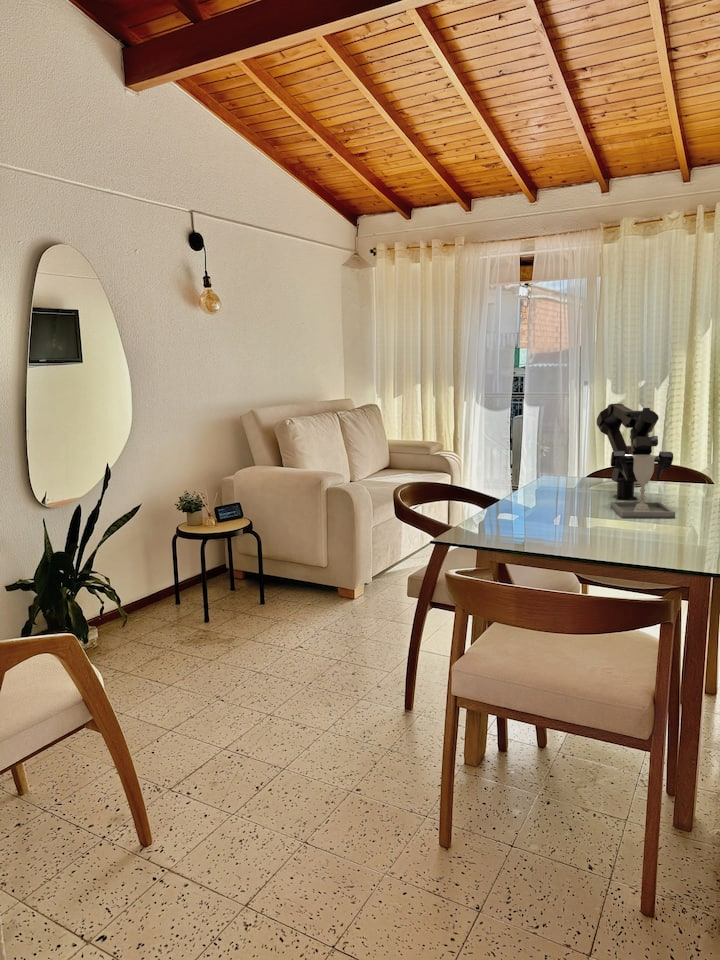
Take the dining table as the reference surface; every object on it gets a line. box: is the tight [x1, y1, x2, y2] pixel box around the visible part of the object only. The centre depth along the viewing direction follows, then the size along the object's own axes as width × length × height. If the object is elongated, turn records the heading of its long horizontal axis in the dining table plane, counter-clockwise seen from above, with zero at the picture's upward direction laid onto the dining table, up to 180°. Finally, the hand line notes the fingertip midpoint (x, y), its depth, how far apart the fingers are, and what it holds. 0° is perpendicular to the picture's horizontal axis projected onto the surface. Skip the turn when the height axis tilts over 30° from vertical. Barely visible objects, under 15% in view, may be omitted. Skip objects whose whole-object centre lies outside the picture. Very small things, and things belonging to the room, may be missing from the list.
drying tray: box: [609, 501, 676, 519], centre depth 221 cm, size 15×16×2 cm
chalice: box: [632, 454, 657, 511], centre depth 219 cm, size 7×7×18 cm
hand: (642, 480), depth 220 cm, fingers open, 9 cm apart
